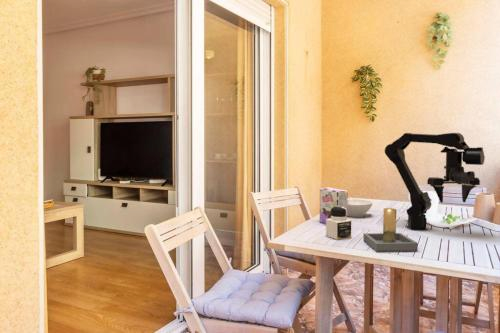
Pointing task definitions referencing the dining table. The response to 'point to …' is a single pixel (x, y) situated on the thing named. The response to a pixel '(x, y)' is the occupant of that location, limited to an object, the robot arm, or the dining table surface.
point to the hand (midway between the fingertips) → (452, 202)
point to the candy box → (331, 201)
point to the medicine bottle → (338, 224)
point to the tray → (400, 246)
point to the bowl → (357, 207)
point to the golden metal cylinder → (389, 225)
